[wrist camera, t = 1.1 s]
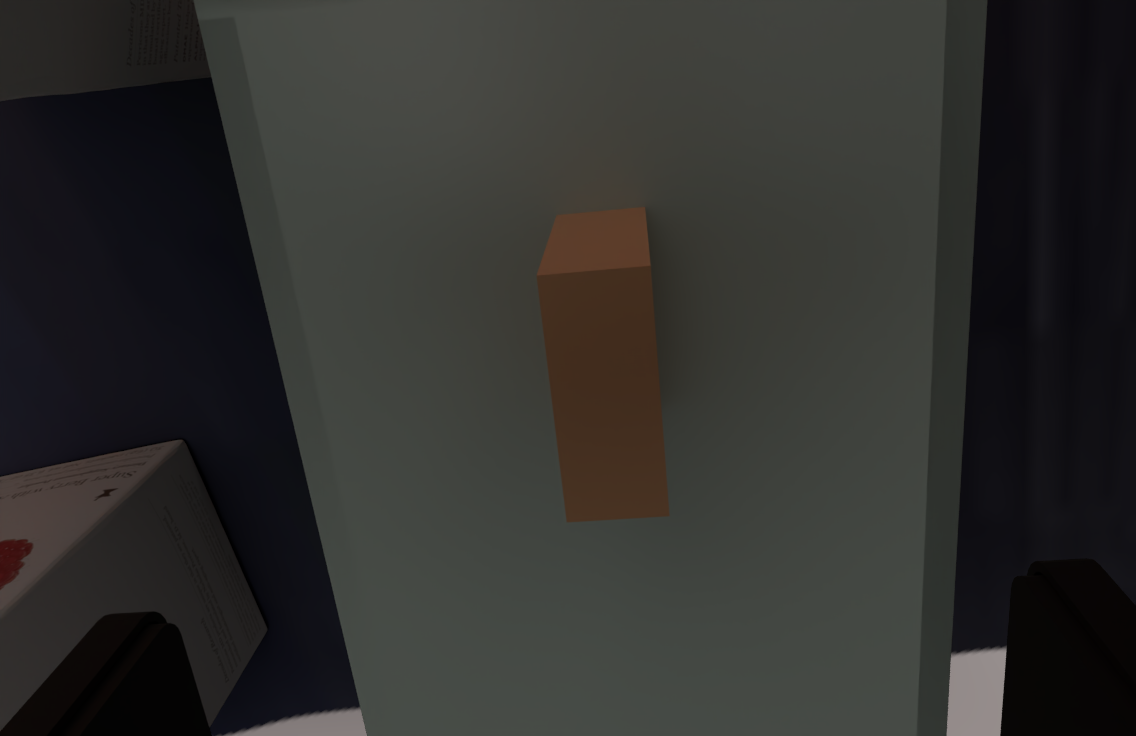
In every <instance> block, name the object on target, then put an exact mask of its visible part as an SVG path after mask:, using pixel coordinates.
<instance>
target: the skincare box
mask: <svg viewBox="0 0 1136 736" xmlns="http://www.w3.org/2000/svg"><path fill="white" fill-rule="evenodd" d="M207 77H211V73H210V69H209V64H208V60H207V56H206V52H205V47H204V43H203V39H202V35H201V30H200V26H199V22H198V18H197V14H196V9H195V5H194V1H193V0H0V101H4V100H11V99H18V98H24V97H34V96H45V95H59V94H74V93H82V92H90V91H100V90H109V89H115V88H123V87H132V86H141V85H149V84H156V83H166V82H173V81H181V80H188V79H199V78H207Z"/></svg>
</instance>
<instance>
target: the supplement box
mask: <svg viewBox="0 0 1136 736" xmlns="http://www.w3.org/2000/svg"><path fill="white" fill-rule="evenodd" d="M150 611H155V612H158V613H161V614H162V616H163V617H164V618H165V619H166V621H167V623H172V624H175V625H176V626H177V627H178V628H179V630H180V632H181V635H182V638H183V642H184V645H185V648H186V651H187V655H188V658H189V661H190V665H191V668H192V671H193V675H194V678H195V681H196V685H197V688H198V691H199V695H200V698H201V701H202V705H203V708H204V711H205V715H206V718H207V721H208V725H209V727H210V726H211V724H212V723H213V721H214V719H215V718H216V716H217V714H218V713H219V711H220V709H221V707H222V706H223V704H224V702H225V701H226V699H227V697H228V696H229V694H230V692H231V691H232V689H233V687H234V686H235V684H236V682H237V681H238V679H239V677H240V676H241V674H242V672H243V670H244V669H245V667H246V665H247V664H248V662H249V660H250V659H251V657H252V655H253V654H254V652H255V650H256V649H257V647H258V645H259V644H260V642H261V640H262V639H263V637H264V635H265V634H266V632H267V627H266V624H265V622H264V620H263V617H262V615H261V613H260V610H259V608H258V606H257V604H256V601H255V599H254V597H253V595H252V592H251V590H250V588H249V586H248V583H247V581H246V579H245V576H244V574H243V572H242V570H241V567H240V565H239V563H238V560H237V558H236V556H235V554H234V551H233V549H232V547H231V544H230V542H229V540H228V538H227V536H226V533H225V531H224V529H223V527H222V524H221V522H220V520H219V517H218V515H217V512H216V510H215V508H214V506H213V503H212V501H211V499H210V497H209V494H208V492H207V490H206V488H205V485H204V483H203V481H202V479H201V476H200V474H199V472H198V470H197V467H196V465H195V463H194V461H193V458H192V456H191V454H190V452H189V449H188V447H187V445H186V443H185V441H183V440H175V441H170V442H165V443H160V444H155V445H150V446H145V447H140V448H135V449H131V450H126V451H121V452H116V453H111V454H106V455H101V456H97V457H92V458H87V459H83V460H78V461H73V462H68V463H64V464H59V465H54V466H49V467H45V468H40V469H35V470H30V471H26V472H21V473H16V474H11V475H7V476H2V477H0V731H1V730H2V729H3V727H4V726H5V725H6V724H7V723H8V722H9V721H10V720H11V718H12V717H13V716H14V715H15V714H16V713H17V712H18V711H19V709H20V708H21V707H22V706H23V705H24V704H25V703H26V701H27V700H28V699H29V698H30V697H31V696H32V695H33V694H34V692H35V691H36V690H37V689H38V688H39V687H40V686H41V684H42V683H43V682H44V681H45V680H46V679H47V678H48V677H49V675H50V674H51V673H52V672H53V671H54V670H55V669H56V668H57V666H58V665H59V664H60V663H61V662H62V661H63V660H64V658H65V657H66V656H67V655H68V654H69V653H70V652H71V651H72V649H73V648H74V647H75V646H76V645H77V644H78V643H79V642H80V640H81V639H82V638H83V637H84V636H85V635H86V634H87V632H88V631H89V630H90V629H91V628H92V627H93V626H94V625H95V623H96V622H97V621H98V620H99V619H101V618H102V617H103V616H104V615H108V614H115V613H133V612H150Z"/></svg>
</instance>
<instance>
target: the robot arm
mask: <svg viewBox="0 0 1136 736" xmlns="http://www.w3.org/2000/svg"><path fill="white" fill-rule="evenodd" d="M0 736H212V735H211V731H210V728H209V725H208V721H207V718H206V715H205V711H204V708H203V705H202V701H201V698H200V695H199V691H198V688H197V685H196V681H195V678H194V675H193V671H192V668H191V665H190V661H189V658H188V655H187V651H186V648H185V645H184V642H183V638H182V635H181V632H180V630H179V628H178V627H177V626H176V625H175V624H172V623H167V621H166V619H165V618H164V617H163V616H162V614H161V613H158V612H155V611H150V612H133V613H115V614H108V615H104V616H103V617H102V618H101V619H99V620H98V621H97V622H96V623H95V625H94V626H93V627H92V628H91V629H90V630H89V631H88V632H87V634H86V635H85V636H84V637H83V638H82V639H81V640H80V642H79V643H78V644H77V645H76V646H75V647H74V648H73V649H72V651H71V652H70V653H69V654H68V655H67V656H66V657H65V658H64V660H63V661H62V662H61V663H60V664H59V665H58V666H57V668H56V669H55V670H54V671H53V672H52V673H51V674H50V675H49V677H48V678H47V679H46V680H45V681H44V682H43V683H42V684H41V686H40V687H39V688H38V689H37V690H36V691H35V692H34V694H33V695H32V696H31V697H30V698H29V699H28V700H27V701H26V703H25V704H24V705H23V706H22V707H21V708H20V709H19V711H18V712H17V713H16V714H15V715H14V716H13V717H12V718H11V720H10V721H9V722H8V723H7V724H6V725H5V726H4V727H3V729H2V730H1V731H0ZM1000 736H1136V606H1135V605H1134V603H1133V602H1132V601H1131V600H1130V599H1129V598H1128V597H1127V595H1126V594H1125V593H1124V592H1123V591H1122V590H1121V589H1120V587H1119V586H1118V585H1117V584H1116V583H1115V582H1114V581H1113V580H1112V578H1111V577H1110V576H1109V575H1108V574H1107V573H1106V572H1105V570H1104V569H1103V568H1102V567H1101V566H1100V565H1099V564H1098V563H1097V562H1096V561H1094V560H1092V559H1070V560H1052V561H1035V562H1034V563H1032V564H1031V566H1030V568H1029V570H1028V574H1027V576H1017V577H1016V578H1014V580H1013V582H1012V587H1011V598H1010V611H1009V625H1008V639H1007V652H1006V667H1005V680H1004V694H1003V707H1002V721H1001V734H1000Z"/></svg>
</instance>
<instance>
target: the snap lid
mask: <svg viewBox="0 0 1136 736" xmlns="http://www.w3.org/2000/svg"><path fill="white" fill-rule="evenodd" d="M193 1H194V5H195V9H196V14H197V18H198V22H199V26H200V30H201V35H202V39H203V43H204V47H205V52H206V56H207V60H208V64H209V69H210V73H211V77H212V81H213V85H214V90H215V94H216V98H217V102H218V107H219V111H220V115H221V119H222V124H223V128H224V132H225V136H226V140H227V145H228V149H229V153H230V157H231V162H232V166H233V170H234V174H235V179H236V183H237V187H238V191H239V195H240V200H241V204H242V208H243V212H244V217H245V221H246V225H247V229H248V234H249V238H250V242H251V246H252V250H253V255H254V259H255V263H256V267H257V272H258V276H259V280H260V284H261V289H262V293H263V297H264V301H265V306H266V310H267V314H268V318H269V322H270V327H271V331H272V335H273V339H274V344H275V348H276V352H277V356H278V361H279V365H280V369H281V373H282V377H283V382H284V386H285V390H286V394H287V399H288V403H289V407H290V411H291V416H292V420H293V424H294V428H295V432H296V437H297V441H298V445H299V449H300V454H301V458H302V462H303V466H304V471H305V475H306V479H307V483H308V487H309V492H310V496H311V500H312V504H313V509H314V513H315V517H316V521H317V526H318V530H319V534H320V538H321V542H322V547H323V551H324V555H325V559H326V564H327V568H328V572H329V576H330V581H331V585H332V589H333V593H334V597H335V602H336V606H337V610H338V614H339V619H340V623H341V627H342V631H343V636H344V640H345V644H346V648H347V652H348V657H349V661H350V665H351V669H352V674H353V678H354V682H355V686H356V691H357V695H358V699H359V703H360V707H361V712H362V716H363V720H364V724H365V729H366V733H367V736H946V732H947V715H948V697H949V679H950V660H951V643H952V625H953V607H954V589H955V571H956V553H957V535H958V517H959V499H960V481H961V463H962V445H963V427H964V409H965V391H966V374H967V356H968V338H969V320H970V302H971V284H972V266H973V248H974V230H975V212H976V194H977V176H978V158H979V140H980V122H981V104H982V86H983V68H984V50H985V32H986V14H987V0H193Z"/></svg>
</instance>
